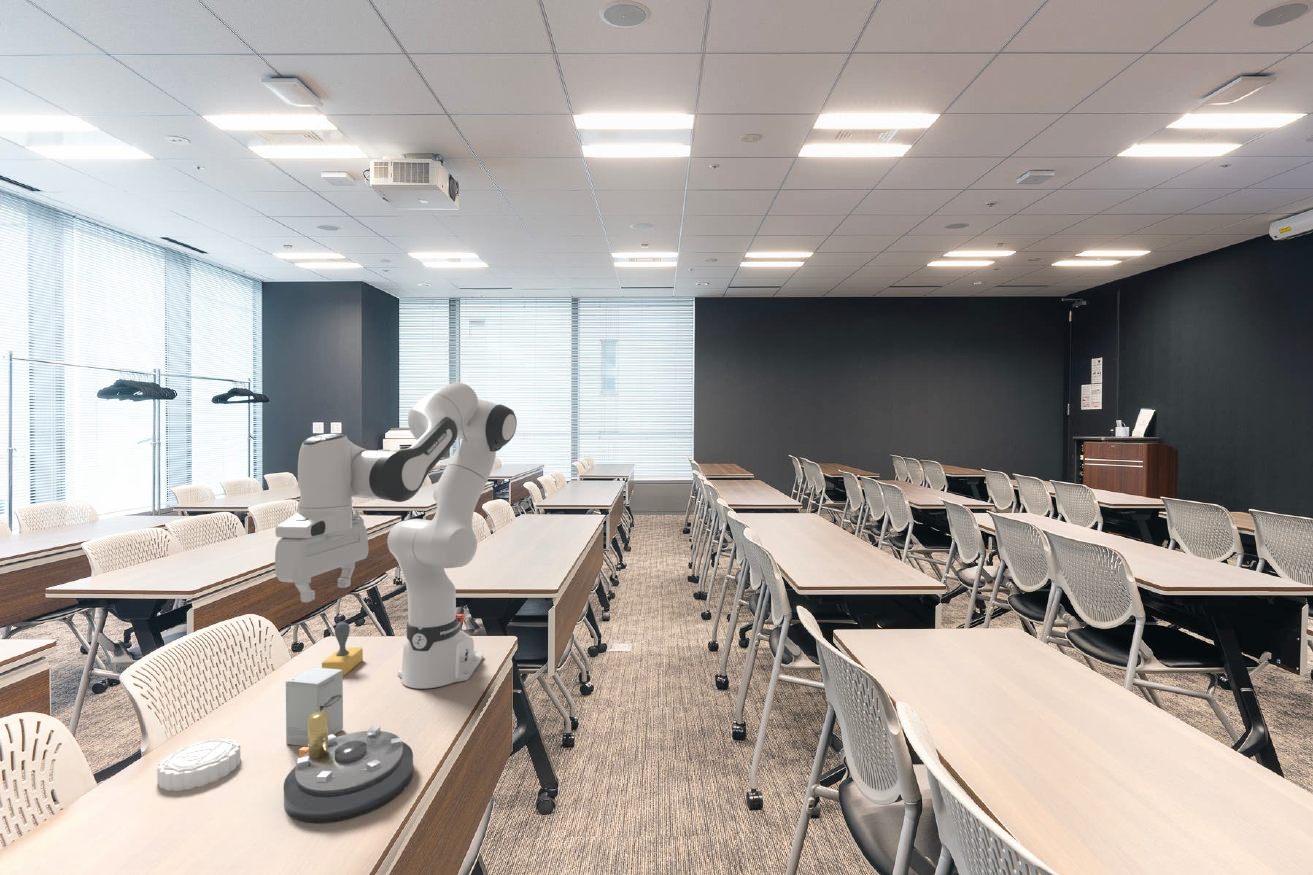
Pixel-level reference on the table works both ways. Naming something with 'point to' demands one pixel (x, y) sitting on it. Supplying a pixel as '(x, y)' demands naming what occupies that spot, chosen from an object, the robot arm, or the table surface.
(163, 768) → the mooncake
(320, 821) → the grey round platform
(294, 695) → the supplement box
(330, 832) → the table surface
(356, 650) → the rubber stamp
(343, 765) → the studded round base
